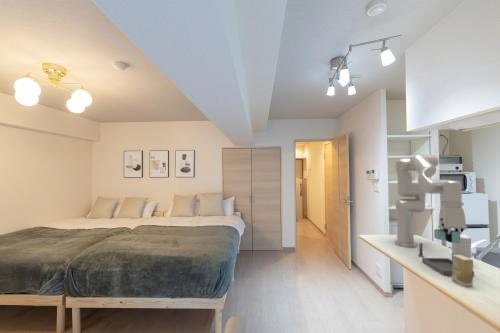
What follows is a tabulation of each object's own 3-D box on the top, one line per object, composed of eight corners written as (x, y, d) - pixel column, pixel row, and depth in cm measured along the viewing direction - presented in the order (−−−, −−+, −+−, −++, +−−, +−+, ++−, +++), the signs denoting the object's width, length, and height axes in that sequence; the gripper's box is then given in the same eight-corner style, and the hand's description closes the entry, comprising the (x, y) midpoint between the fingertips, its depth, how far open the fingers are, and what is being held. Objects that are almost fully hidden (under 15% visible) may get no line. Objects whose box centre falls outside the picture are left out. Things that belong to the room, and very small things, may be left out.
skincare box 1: (451, 260, 142) (451, 232, 142) (466, 261, 139) (466, 234, 139) (456, 265, 134) (455, 236, 134) (472, 267, 131) (471, 237, 131)
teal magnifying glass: (431, 236, 135) (431, 226, 135) (446, 236, 134) (446, 226, 134) (447, 243, 123) (447, 232, 123) (464, 243, 122) (464, 232, 122)
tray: (422, 262, 139) (422, 257, 139) (448, 262, 137) (448, 258, 138) (444, 275, 121) (444, 270, 121) (474, 276, 120) (473, 271, 120)
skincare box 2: (451, 280, 116) (451, 254, 116) (460, 280, 117) (460, 254, 117) (464, 287, 110) (464, 259, 110) (473, 286, 110) (473, 259, 110)
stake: (417, 255, 149) (417, 242, 149) (421, 255, 149) (421, 242, 149) (420, 257, 147) (419, 243, 147) (424, 257, 147) (424, 243, 147)
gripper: (463, 204, 128) (464, 239, 128) (430, 204, 129) (430, 239, 129) (475, 206, 120) (476, 244, 120) (439, 206, 122) (440, 243, 121)
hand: (452, 241), depth 125 cm, fingers closed on teal magnifying glass, 3 cm apart
